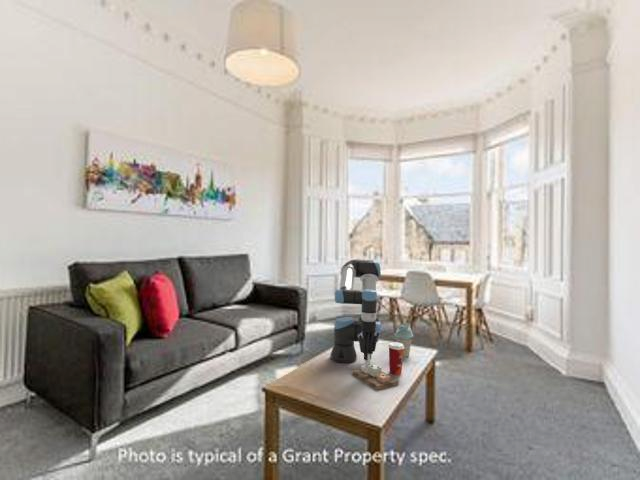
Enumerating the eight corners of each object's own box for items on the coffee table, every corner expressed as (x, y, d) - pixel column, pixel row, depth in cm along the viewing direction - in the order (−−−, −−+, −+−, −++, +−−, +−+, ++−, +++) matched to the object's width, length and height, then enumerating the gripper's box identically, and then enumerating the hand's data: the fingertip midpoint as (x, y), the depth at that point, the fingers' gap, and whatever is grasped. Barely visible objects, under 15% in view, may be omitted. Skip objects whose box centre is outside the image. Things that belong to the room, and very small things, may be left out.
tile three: (376, 382, 170) (376, 374, 170) (383, 381, 172) (383, 372, 172) (382, 386, 166) (382, 377, 166) (389, 384, 168) (389, 375, 168)
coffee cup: (403, 376, 179) (404, 347, 178) (387, 374, 180) (388, 345, 180) (403, 370, 187) (404, 342, 187) (387, 368, 189) (388, 341, 188)
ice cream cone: (395, 351, 217) (396, 319, 217) (413, 353, 213) (414, 321, 213) (392, 356, 208) (393, 322, 207) (412, 359, 204) (413, 325, 204)
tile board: (352, 374, 180) (352, 370, 180) (372, 369, 186) (372, 366, 186) (377, 390, 162) (377, 385, 162) (398, 384, 169) (398, 380, 169)
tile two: (368, 373, 175) (368, 365, 175) (375, 372, 177) (375, 364, 177) (374, 377, 171) (374, 368, 171) (381, 375, 173) (381, 367, 173)
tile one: (361, 373, 180) (361, 365, 180) (367, 372, 183) (368, 364, 183) (366, 376, 177) (366, 368, 177) (373, 375, 179) (373, 366, 179)
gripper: (362, 323, 173) (361, 370, 173) (383, 320, 179) (382, 366, 179) (353, 319, 179) (352, 365, 179) (374, 317, 186) (372, 361, 186)
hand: (367, 365), depth 179 cm, fingers closed
